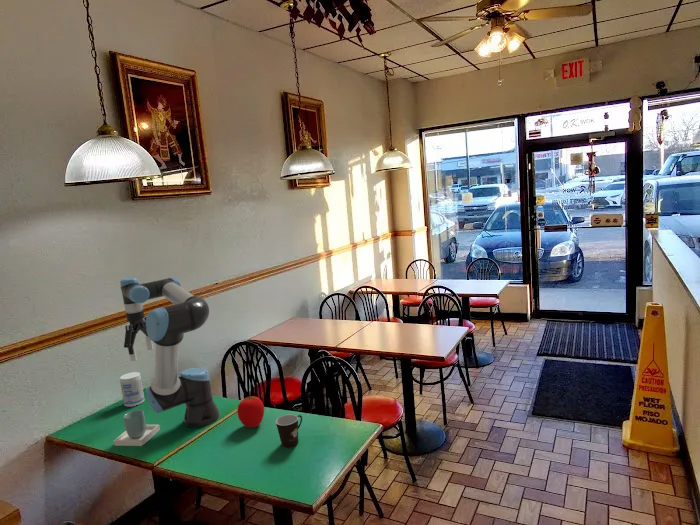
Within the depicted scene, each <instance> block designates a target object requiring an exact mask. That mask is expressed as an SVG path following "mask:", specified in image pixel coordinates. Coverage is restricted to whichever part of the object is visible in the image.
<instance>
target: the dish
mask: <svg viewBox="0 0 700 525" xmlns="http://www.w3.org/2000/svg"><path fill="white" fill-rule="evenodd" d="M160 427H161V426H160V424H146V431H145V433H144V434H143V435H142V436H141V437H139V438H130V437H129V436H128V434H127V432H126V430H124V432H122V433H121V434H120V435H119V436H117V437H116V438H115V439H113V445H114V447H116V446H117V447H125V446H126V447H143V446H144V445H145V444H146V443H147V442H148V441H149V440H151V439H152V438H153V437H154V436H155V435H156V434H157V433H158V432H160V430H161V428H160ZM142 445H143V446H142Z"/></svg>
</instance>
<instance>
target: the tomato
mask: <svg viewBox="0 0 700 525" xmlns="http://www.w3.org/2000/svg"><path fill="white" fill-rule="evenodd" d="M236 411H237V416H238V417H237V418H238V420H239V421H240V423H241V424H242V425H243V426H244V427H246V428H250V429H251V428H256V427H258V426H259V425H261V423H262V421H263V419H264V415H265V406H264V402H263V401H262V400H261V398H259V397H258V396H255V395H252V396H247V397H245V398H243V399H242V400H241V401H240V402H239V404H238V406H237V410H236Z"/></svg>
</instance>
